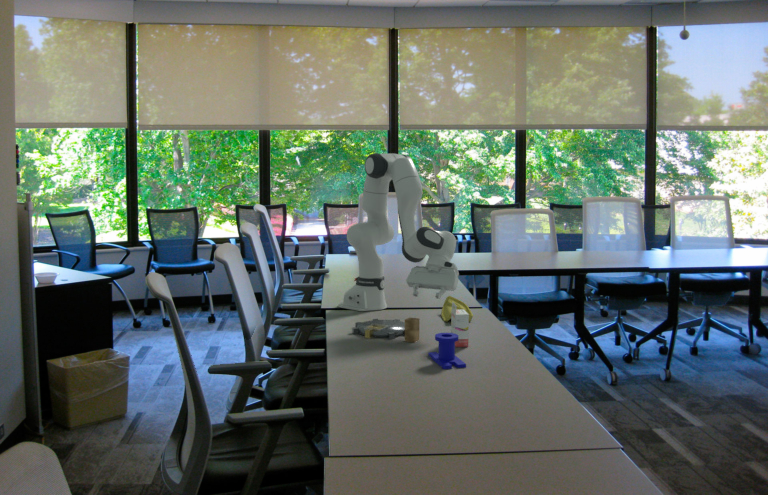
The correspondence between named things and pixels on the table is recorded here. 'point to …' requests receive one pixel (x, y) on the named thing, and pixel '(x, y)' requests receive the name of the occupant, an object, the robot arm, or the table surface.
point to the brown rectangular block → (412, 329)
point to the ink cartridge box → (460, 325)
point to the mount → (446, 351)
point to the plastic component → (448, 307)
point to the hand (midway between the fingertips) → (426, 296)
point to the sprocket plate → (380, 328)
